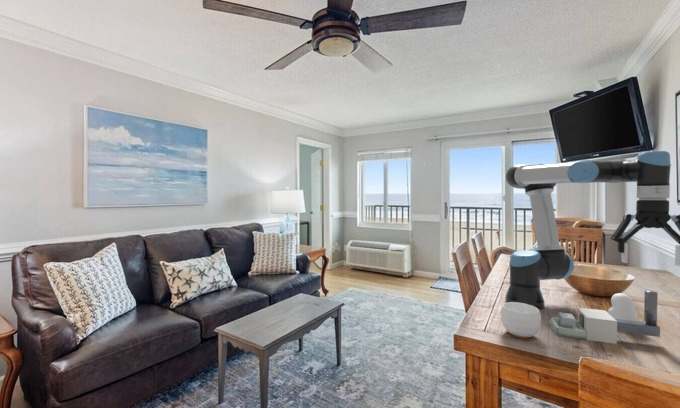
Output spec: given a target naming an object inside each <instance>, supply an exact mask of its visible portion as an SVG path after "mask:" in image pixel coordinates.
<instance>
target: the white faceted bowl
mask: <svg viewBox="0 0 680 408" xmlns="http://www.w3.org/2000/svg"><path fill="white" fill-rule="evenodd" d="M500 320H501V324H502V326H503V328H504V329H505V330H506V331H507V332H508V333H510V334H511V335H512V336H514V337H515V338H520V339H529V338H530V337H534V336H537V334H538V333H539V332H540V329H541V326H542V315H541V311H540V309H538V308H536V307H534V306H532V305H528V304H525V303H518V302H508V303H507V302H504V303H502V306H501V309H500Z"/></svg>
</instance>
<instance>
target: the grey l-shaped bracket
mask: <svg viewBox="0 0 680 408" xmlns="http://www.w3.org/2000/svg"><path fill="white" fill-rule="evenodd" d="M658 295H659V294H658V291H654V290H646V289H645V290H644V298H643V300H644V303H643V304H644V307H643V310H644V311H643V314H644V315H643V321H630V320H622V319H615V320H616V321H617V333H619V332H620V333H626V334H627V333H628V334H632V335H633V334H634V335H642V336H648V337H649V336H650V337H658V338H660V337H661V327H660V326H659V325H658ZM579 324H580V325H581V327H584V316H583V315H579Z"/></svg>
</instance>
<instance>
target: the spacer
mask: <svg viewBox="0 0 680 408" xmlns="http://www.w3.org/2000/svg"><path fill="white" fill-rule="evenodd" d="M557 318H558V326H559V327H563V328H570V329H575V320H576V318H575V316H573V314H572V313H568V312H567V313H566V312H558V311H557Z"/></svg>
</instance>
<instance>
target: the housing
mask: <svg viewBox="0 0 680 408" xmlns="http://www.w3.org/2000/svg"><path fill="white" fill-rule="evenodd" d="M579 315H583V316H584V327H581V325H580V324H579ZM577 321H578V328H579V329H580V330H585V331H586V340H587V341H594V342H601V343H606V344H613V345H618V341H617V340H618V331H617V321H616V320H615V319H614V318H613V317H612V316H611V315H610V314H608V311H606V310H603V309H602V310H601V309H595V308H586V307H585V308H584V307H577ZM586 340H585V341H586Z"/></svg>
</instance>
